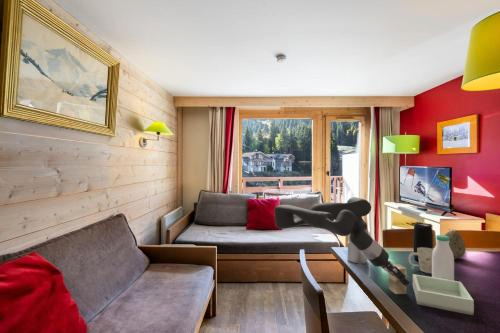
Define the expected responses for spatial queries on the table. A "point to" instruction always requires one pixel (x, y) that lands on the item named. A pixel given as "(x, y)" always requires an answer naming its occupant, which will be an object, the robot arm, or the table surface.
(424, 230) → the portable speaker
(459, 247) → the decorative egg
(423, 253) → the mug
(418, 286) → the bin
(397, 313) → the table surface
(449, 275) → the milk bottle
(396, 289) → the birch block
